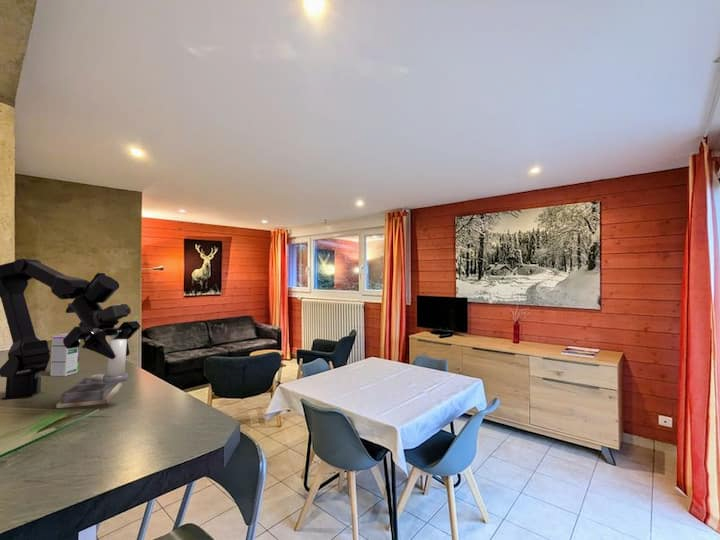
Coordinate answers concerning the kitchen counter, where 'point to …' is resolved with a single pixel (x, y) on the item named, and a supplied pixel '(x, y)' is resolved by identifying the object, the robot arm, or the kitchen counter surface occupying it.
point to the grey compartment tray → (89, 392)
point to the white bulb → (117, 362)
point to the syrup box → (63, 357)
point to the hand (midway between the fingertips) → (121, 356)
